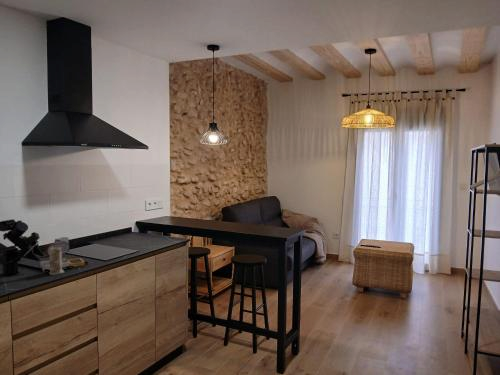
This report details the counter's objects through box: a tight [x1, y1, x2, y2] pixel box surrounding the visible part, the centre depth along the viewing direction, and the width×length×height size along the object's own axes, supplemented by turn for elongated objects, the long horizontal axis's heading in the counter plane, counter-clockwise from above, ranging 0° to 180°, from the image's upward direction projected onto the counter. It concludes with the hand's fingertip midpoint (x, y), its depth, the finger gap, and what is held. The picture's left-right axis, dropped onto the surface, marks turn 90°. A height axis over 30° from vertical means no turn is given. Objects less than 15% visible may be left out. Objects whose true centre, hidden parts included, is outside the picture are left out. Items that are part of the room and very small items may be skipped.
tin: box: [44, 241, 71, 257], centre depth 248 cm, size 15×3×8 cm, turn 141°
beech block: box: [49, 247, 63, 273], centre depth 213 cm, size 5×5×13 cm
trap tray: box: [66, 257, 86, 268], centre depth 229 cm, size 8×10×2 cm
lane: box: [39, 258, 69, 272], centre depth 223 cm, size 14×10×3 cm
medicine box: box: [54, 236, 70, 245], centre depth 258 cm, size 8×4×9 cm, turn 163°
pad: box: [48, 268, 65, 276], centre depth 214 cm, size 7×7×1 cm
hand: (41, 258), depth 212 cm, fingers open, 9 cm apart
